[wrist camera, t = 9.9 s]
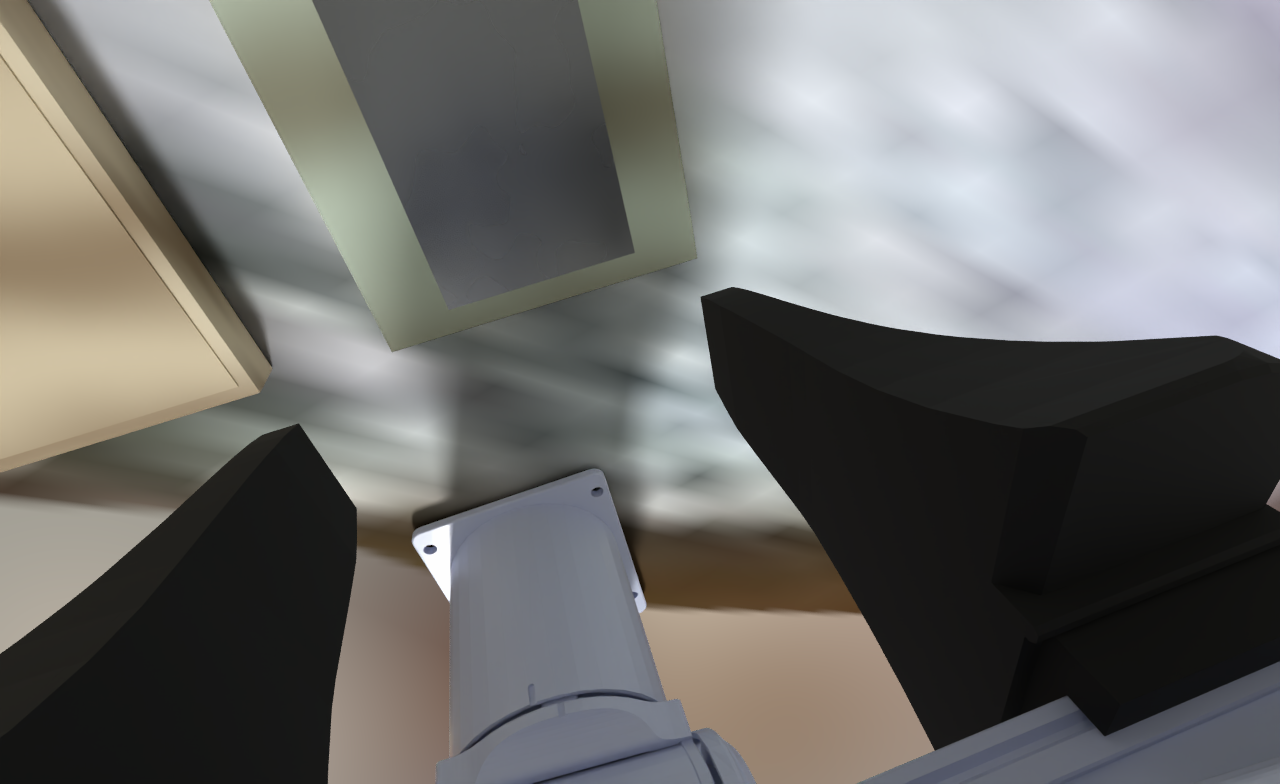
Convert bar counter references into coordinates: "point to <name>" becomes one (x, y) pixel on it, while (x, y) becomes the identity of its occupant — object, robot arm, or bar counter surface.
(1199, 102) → the bar counter surface
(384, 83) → the block
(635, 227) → the stand
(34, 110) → the stand
